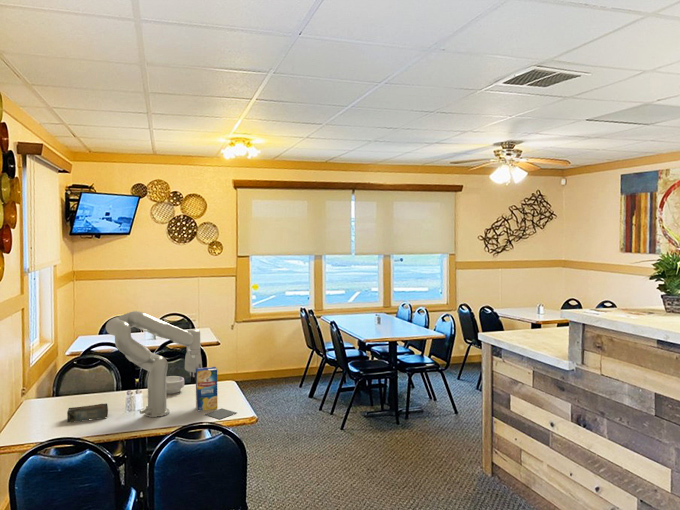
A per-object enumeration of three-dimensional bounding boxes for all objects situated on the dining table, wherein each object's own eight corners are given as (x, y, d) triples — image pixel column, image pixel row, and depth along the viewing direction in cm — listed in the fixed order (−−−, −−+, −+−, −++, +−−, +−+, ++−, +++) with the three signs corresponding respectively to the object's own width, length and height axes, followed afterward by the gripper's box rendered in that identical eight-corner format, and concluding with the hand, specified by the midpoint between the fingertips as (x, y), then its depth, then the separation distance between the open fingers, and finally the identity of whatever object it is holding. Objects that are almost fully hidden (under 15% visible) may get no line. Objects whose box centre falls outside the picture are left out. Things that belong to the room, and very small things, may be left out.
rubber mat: (219, 419, 281) (219, 418, 281) (204, 414, 288) (204, 414, 288) (236, 413, 290) (236, 412, 290) (221, 409, 298) (221, 408, 298)
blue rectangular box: (217, 408, 298) (217, 369, 297) (197, 411, 294) (196, 371, 293) (215, 405, 304) (215, 366, 303) (195, 407, 300) (195, 368, 299)
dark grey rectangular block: (68, 418, 282) (68, 406, 282) (108, 414, 290) (108, 402, 289) (67, 423, 275) (66, 410, 275) (107, 418, 282) (107, 406, 282)
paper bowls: (189, 391, 330) (189, 378, 330) (166, 397, 319) (166, 383, 319) (175, 386, 341) (175, 374, 340) (153, 391, 329) (153, 379, 329)
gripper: (179, 350, 306) (180, 382, 306) (197, 354, 297) (197, 387, 298) (190, 348, 312) (190, 379, 313) (207, 351, 303) (207, 383, 304)
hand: (193, 383), depth 305 cm, fingers closed
